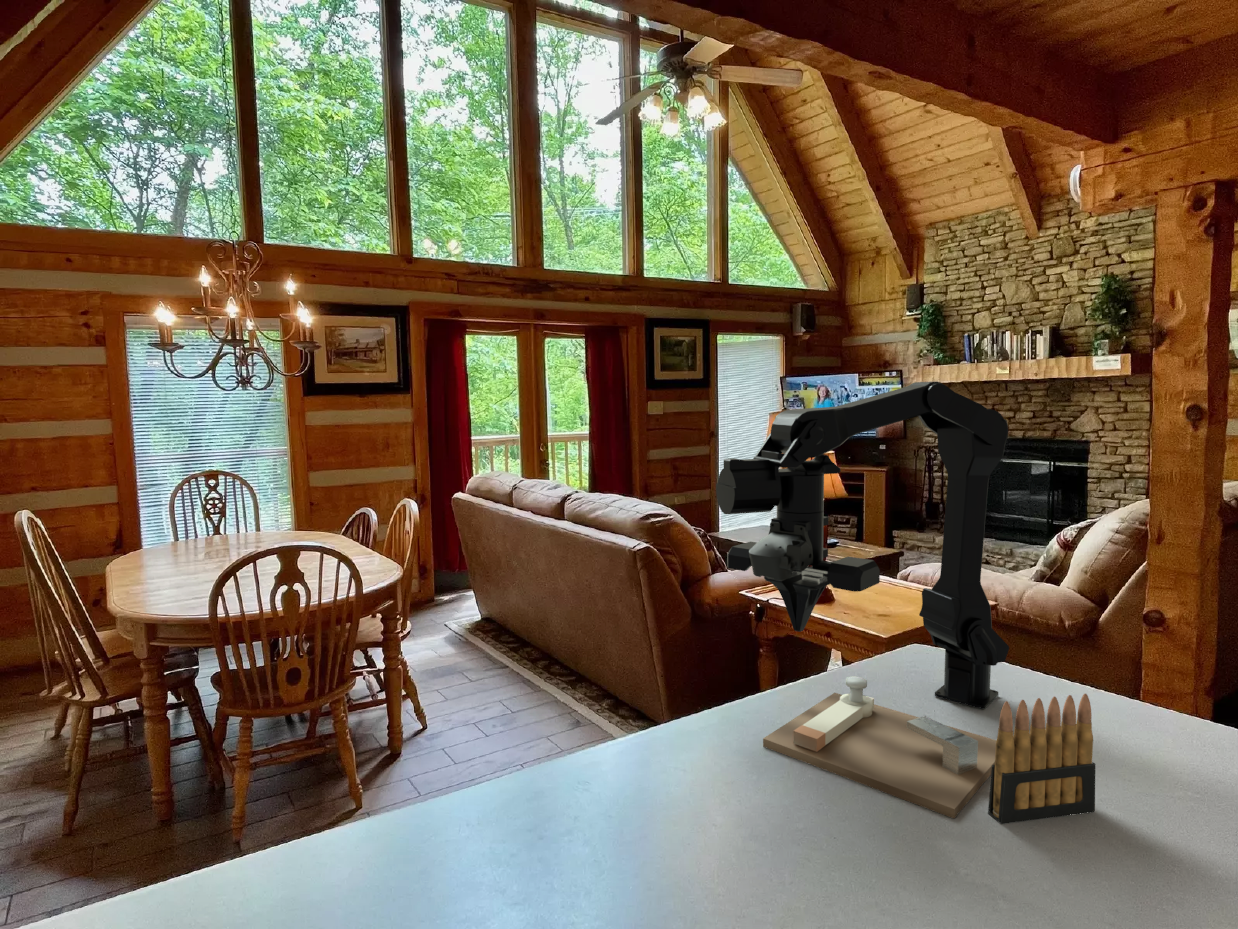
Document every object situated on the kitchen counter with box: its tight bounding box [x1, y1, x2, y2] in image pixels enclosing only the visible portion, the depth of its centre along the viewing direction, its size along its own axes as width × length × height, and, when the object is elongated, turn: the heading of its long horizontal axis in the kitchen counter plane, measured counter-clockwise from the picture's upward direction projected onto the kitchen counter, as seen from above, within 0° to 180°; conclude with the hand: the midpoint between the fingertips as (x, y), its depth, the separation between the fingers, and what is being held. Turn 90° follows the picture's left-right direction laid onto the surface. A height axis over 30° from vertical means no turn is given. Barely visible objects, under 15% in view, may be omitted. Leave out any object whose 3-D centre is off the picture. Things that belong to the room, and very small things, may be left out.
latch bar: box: [793, 676, 875, 752], centre depth 89 cm, size 15×4×4 cm, turn 136°
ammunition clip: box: [987, 693, 1097, 825], centre depth 72 cm, size 11×2×12 cm, turn 100°
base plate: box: [762, 692, 997, 820], centre depth 85 cm, size 18×22×1 cm
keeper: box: [907, 715, 978, 775], centre depth 81 cm, size 3×7×3 cm, turn 26°
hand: (798, 630), depth 92 cm, fingers closed
